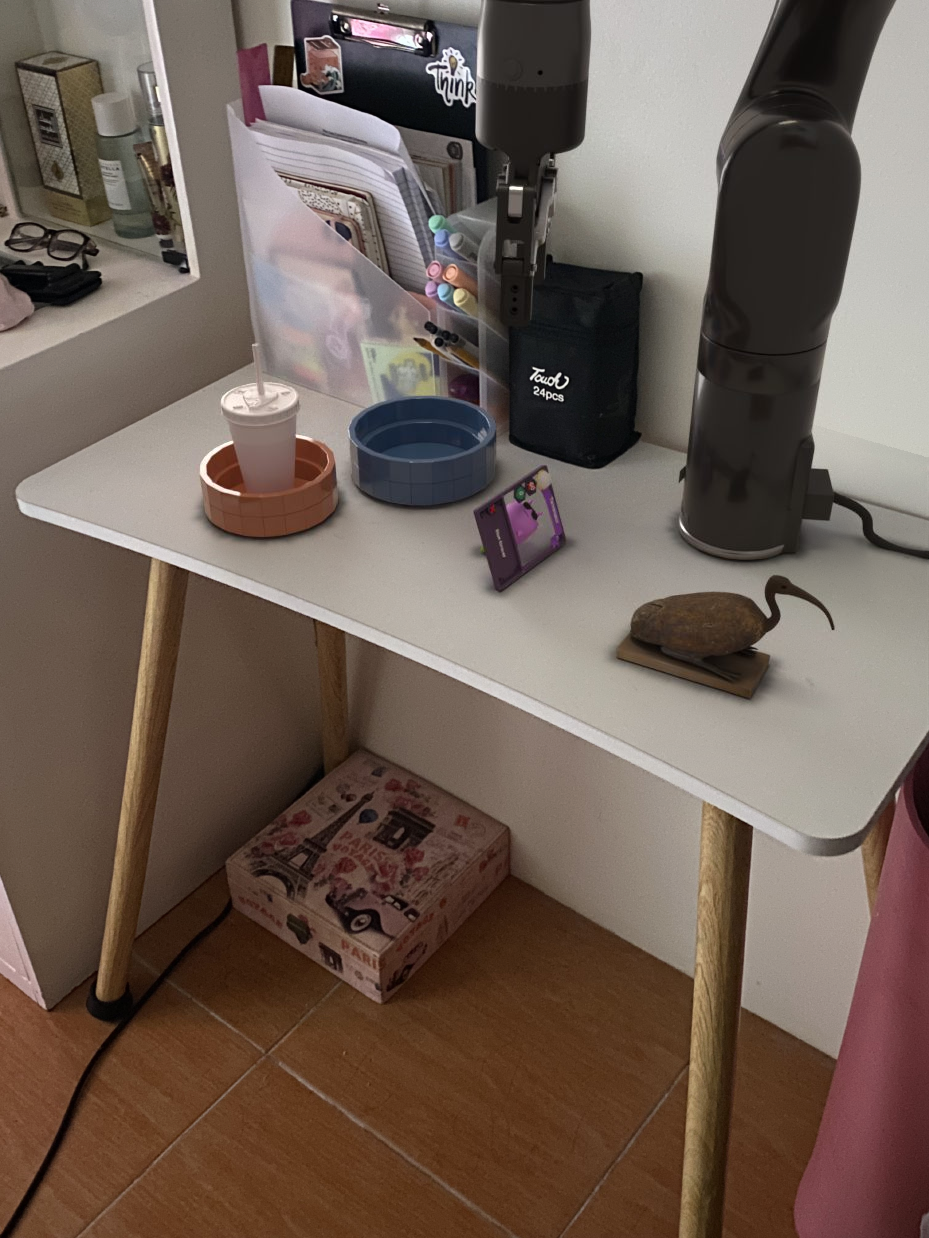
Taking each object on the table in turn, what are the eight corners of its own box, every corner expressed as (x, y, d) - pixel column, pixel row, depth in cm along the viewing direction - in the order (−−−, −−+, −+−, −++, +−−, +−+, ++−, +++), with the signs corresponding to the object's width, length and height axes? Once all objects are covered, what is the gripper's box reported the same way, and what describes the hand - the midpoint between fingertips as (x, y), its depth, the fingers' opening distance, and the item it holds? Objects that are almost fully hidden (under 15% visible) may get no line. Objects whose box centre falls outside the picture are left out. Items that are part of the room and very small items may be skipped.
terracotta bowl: (349, 476, 108) (346, 436, 106) (321, 543, 99) (318, 500, 97) (227, 470, 110) (221, 429, 107) (188, 535, 100) (181, 492, 98)
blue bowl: (502, 443, 113) (503, 398, 111) (486, 513, 103) (487, 466, 100) (366, 436, 115) (364, 392, 112) (337, 505, 104) (334, 458, 102)
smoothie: (316, 485, 107) (302, 333, 98) (301, 523, 101) (284, 365, 93) (244, 482, 107) (224, 330, 99) (225, 520, 102) (202, 363, 94)
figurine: (829, 681, 84) (851, 576, 79) (810, 719, 81) (832, 611, 76) (639, 625, 90) (648, 523, 84) (615, 658, 86) (623, 554, 81)
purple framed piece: (483, 510, 90) (553, 464, 96) (433, 510, 94) (503, 465, 99) (507, 591, 93) (574, 542, 98) (457, 588, 96) (524, 540, 102)
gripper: (579, 97, 75) (563, 344, 85) (597, 50, 87) (581, 273, 96) (459, 90, 76) (456, 336, 86) (493, 45, 88) (487, 267, 97)
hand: (523, 303), depth 91 cm, fingers open, 8 cm apart
